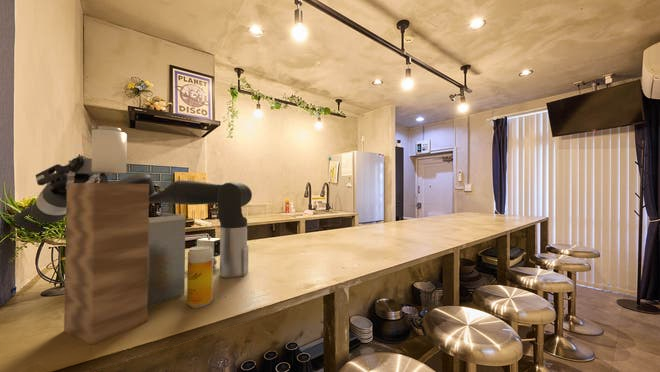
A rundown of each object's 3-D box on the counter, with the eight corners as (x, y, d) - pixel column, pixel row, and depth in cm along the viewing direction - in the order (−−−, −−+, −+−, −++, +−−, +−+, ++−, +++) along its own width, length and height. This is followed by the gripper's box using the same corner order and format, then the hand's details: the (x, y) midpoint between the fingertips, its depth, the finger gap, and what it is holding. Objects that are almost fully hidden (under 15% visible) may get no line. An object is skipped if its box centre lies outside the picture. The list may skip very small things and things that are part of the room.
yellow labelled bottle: (185, 302, 69) (186, 247, 69) (209, 296, 72) (210, 244, 73) (189, 311, 64) (189, 251, 64) (214, 304, 68) (215, 248, 68)
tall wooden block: (64, 330, 55) (66, 183, 55) (118, 310, 64) (120, 184, 64) (92, 345, 50) (95, 182, 50) (147, 321, 59) (149, 183, 59)
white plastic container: (60, 173, 61) (61, 131, 61) (92, 174, 66) (92, 136, 66) (100, 170, 53) (100, 123, 53) (132, 172, 59) (132, 129, 59)
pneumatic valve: (218, 269, 97) (218, 238, 97) (192, 267, 100) (192, 236, 100) (227, 265, 103) (227, 235, 103) (201, 263, 105) (202, 234, 105)
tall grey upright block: (125, 301, 69) (127, 216, 70) (163, 288, 79) (164, 213, 79) (147, 308, 65) (149, 218, 66) (184, 293, 74) (185, 214, 75)
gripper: (99, 206, 72) (129, 175, 66) (24, 210, 60) (53, 171, 53) (92, 184, 74) (121, 151, 68) (18, 182, 61) (46, 142, 55)
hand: (91, 160), depth 61 cm, fingers closed on white plastic container, 3 cm apart
